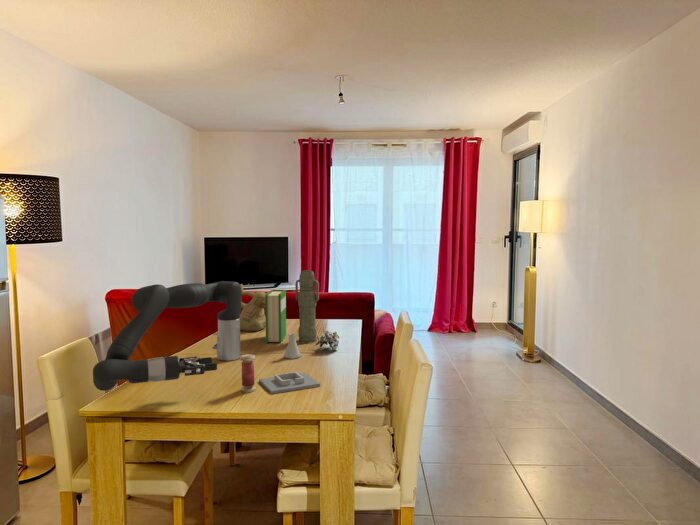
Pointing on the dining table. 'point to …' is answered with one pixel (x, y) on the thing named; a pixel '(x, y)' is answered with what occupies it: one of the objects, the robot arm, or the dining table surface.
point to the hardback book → (275, 315)
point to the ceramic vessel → (253, 311)
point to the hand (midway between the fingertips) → (214, 363)
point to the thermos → (307, 305)
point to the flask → (292, 348)
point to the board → (288, 382)
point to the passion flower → (329, 340)
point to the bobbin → (247, 373)
